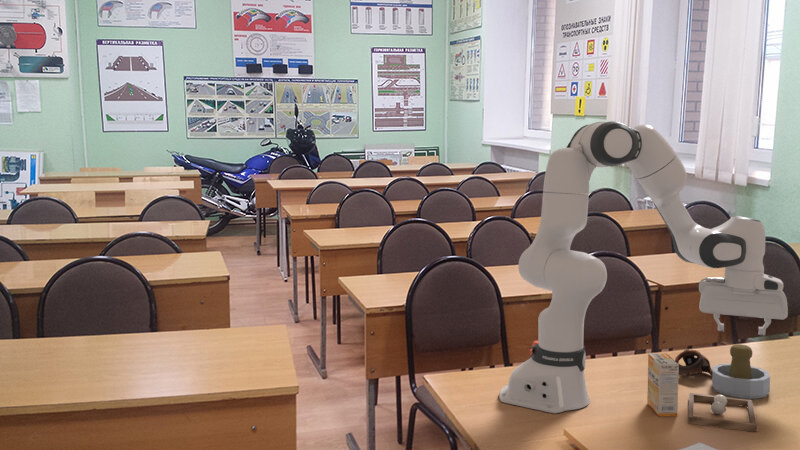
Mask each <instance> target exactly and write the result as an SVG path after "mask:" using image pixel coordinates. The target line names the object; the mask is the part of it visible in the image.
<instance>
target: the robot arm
mask: <svg viewBox="0 0 800 450" xmlns="http://www.w3.org/2000/svg"><path fill="white" fill-rule="evenodd" d="M624 164H625V166H627V167H628V168H629V169H630V171H631V173H632V175H633V176H634V177H635V179H636V181H637V182H638V183H639V184H640V187H642V189H643V190H644V192H645V193H646V194H647V195H648V197H649V198H650V200H651V202H652V203H653V205H654V207H655V209H656V211H657V212H658V213H659V216H660V217H661V218H662V220H663V222H664V223H665V225H666V228H667V229H668V231H669V233H670V235H671V239H672V245H673V248H674V252H675V254H676V255H677V257H679V258H680V259H681V261H684V262H685V263H691V264H697V265H699V266H702V267H706V268H710V269H722V268H724V278H723V277H709V276H708V277H705V278H702V279H700V281H699V282H698V290H699V293H700V299H699V306H698V308H699V311H700V312H701V313H703V314H713V319H714V320H715V321H714V322H715V323H716V324H717V331H718V332H725V323H724V322H723V323H722V322H721V321H720V317H721V315H726V316H727V315H728V316H737V317H748V318H759V319H763V320H764V324H763V325H762V326H758V333H757V334H758V335H759V336H766V329H767V328H768V327H769V326H770V325H771V323H772V319H773V320H785V319H787V318H788V315H789V309H788V300H787V299H788V298H787V296H786V294H785V292H784V291H783V290H784V282H783V280H782V279H780V278H777V277H776V276H775V277H774V276H771V275H769V274H766V273H765V265H764V256H765V254H766V231H765V226H764V224H763V222H762V221H761V220H759V219H757V218H752V217H746V216H740V215H734V216H731V217H730V218H729V219H728V220H727V221H725V222H724V223H722V224H720V225H717V226H715V227H711V228H707V227H704V226H702V225H700V224H698V223H697V222H695V221H694V220H693V218H692V216H691V214H690V213H689V211H688V209H687V208H686V207H685V205H684V203H683V201H682V199H681V196H680V192H682V190H683V189H684V187H685V186H686V184H687V180H688V174H687V171H686V169H685V166H684V163H683V162H682V160H681V159H680V157H679V155H678V154H677V153H676V151H675V150H674V149H673V147H672V146H671V144H669V142H668V141H667V139H665V137H664V136H663V135H662V134H661V133H660V132H659V131H658V130H657V129H656V128H655V127H653V126H652V125H650V124H639V125H636V126H633V127H630V126H628V125H626V124H625V123H622V122H619V121H616V120H615V121H613V120H611V121H610V120H609V121H596V122H593V123H590V124H585V125H583V126H581V127H580V128H579V129H577V130H576V131H575V133H574V134H573V135H572V137H571V139H570V141H569V143H568V144H567V145H566V147H560V148H558V149H557V150H554V151H553V152H552V153H551V154H550V155H549V158H548V161H547V165H546V170H545V174H544V179H543V188H542V191H543V192H542V202H541V203H542V204H541V213H540V221H539V226H538V229H537V232H536V235H535V236H534V239H533V241H532V243H531V244H530V245H529V247H528V248H527V247H526V249H525V250H523V252H522V253H521V255H520V257H519V260H518V271H519V275H520V277H521V278H522V279H523V280H524V281H525V282H527V283H529V284H530V285H532V286H534V287H536V288H539V289H543V290H547V291H551V293H552V294H551V295H552V297H551V301H550V304H549V306H548V307H546V308H544V309H543V310H542V311H541V312H540V313H539V315H538V319H537V320H538V321H537V322H538V325H537V326H538V336H537V337H538V339H537V340H534V341H533V342H532V344H531V347H530V350H529V355H530V358H528V359H527V360H525V361H524V362H521V364H519V365H518V366H516V367H515V368H514V369H513V370H512V372H511V374H510V376H509V379H508V380H509V381H508V384H505V385H504V386H503V387H502V388H501V390H500V392H499V396H498V397H499V401H500V402H502V403H505V404H508V405H509V404H510V405H513V406H514V405H515V406H518V407H519V406H520V407H523V408H527V409H532V410H536V411H541V412H546V413H550V414H558V413H559V414H560V413H562V412H566V411H573V410H579V409H582V408H585V407H587V406H588V405H589V404H590V403H591V401H590V397H589V395H588V389H587V385H586V378H585V368H586V359H587V358H586V347H585V345H584V329H585V327H584V326H585V318H586V312H587V311H588V310H587V309H588V307H589V305H590V303H591V302H592V300H593V299H594V298H595V297H596V296H598V295H599V294H601V292H602V291H603V290H604V288H605V286H606V283H607V280H608V272H607V268H606V264H605V263H604V262H603V261H602V260H601V259H599V258H598V257H596V256H594V255H591V254H589V253H587V252H584V251H577V250H572V249H571V246H572V243H573V241H574V238H575V236H576V235H577V234H578V233H580V232H581V231H583V230H584V229H585V228H586V226H587V223H588V213H589V212H588V210H589V198H590V197H589V196H590V195H589V194H590V180H591V176H592V174H593V172H594V171H595V169H596V168H609V167H617V166H620V165H624Z"/></svg>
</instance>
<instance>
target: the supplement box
mask: <svg viewBox="0 0 800 450" xmlns="http://www.w3.org/2000/svg"><path fill="white" fill-rule="evenodd" d="M647 354H648V355H647V361H648V362H647V399H646V400H647V402H646V403H647V405H648V406H649V407H650V408H652V410H653V411H654V412H655V414H656V415H657V416H658V417H677V416H678V411H679V410H678V407H679V406H678V405H679V404H678V403H679V399H678V398H679V376H678V374H679V364H680V363H679V362H678V363H679V364H678V363H677V362H676V361H675V359H673V357H671V356H670V354H668V353H667V352H660V353H659V352H656V353H655V352H653V353H651V352H650V353H649V352H648V353H647Z"/></svg>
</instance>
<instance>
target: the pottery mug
mask: <svg viewBox="0 0 800 450" xmlns="http://www.w3.org/2000/svg"><path fill="white" fill-rule="evenodd" d="M681 359H682V360H683V363H684V364H681V363H679V362H680V360H681ZM674 360H675V361H676V362H677V363H678V364H679V374H678V377H679V375H681V376H682V375H683V376H690V375H695V374H697V373H699V374H703V373H707V374H709V375H710V377H711V378H712V367H711V363H710V360H709V359H708V358H707V357H706V356H705V355H703V354H702V353H701V352H699V350H694V349H688V348H687V349H684V350H683V351H681V352H680V353H678V354H677V356H676V357H675V359H674Z"/></svg>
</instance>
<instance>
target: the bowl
mask: <svg viewBox="0 0 800 450" xmlns="http://www.w3.org/2000/svg"><path fill="white" fill-rule="evenodd" d="M750 366H751V375H752V379H740V378H734V377H730V376H729V372H730V367H731V362H730V363H720V364H717V365H714V366H712V367H711V369H712V377H711V383H712V384H711V386H712V389H713V391H715V392H717V393H719V394H720V395H724V396H726V397H729V398H738V399H747V400H758V399H763V398H766V397H767V396H769V393H770V391H771V389H770V388H771V387H770V386H771V375H770V373H769V371H767V370H765V369H763V368H760V367H757V366H754V365H750Z"/></svg>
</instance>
